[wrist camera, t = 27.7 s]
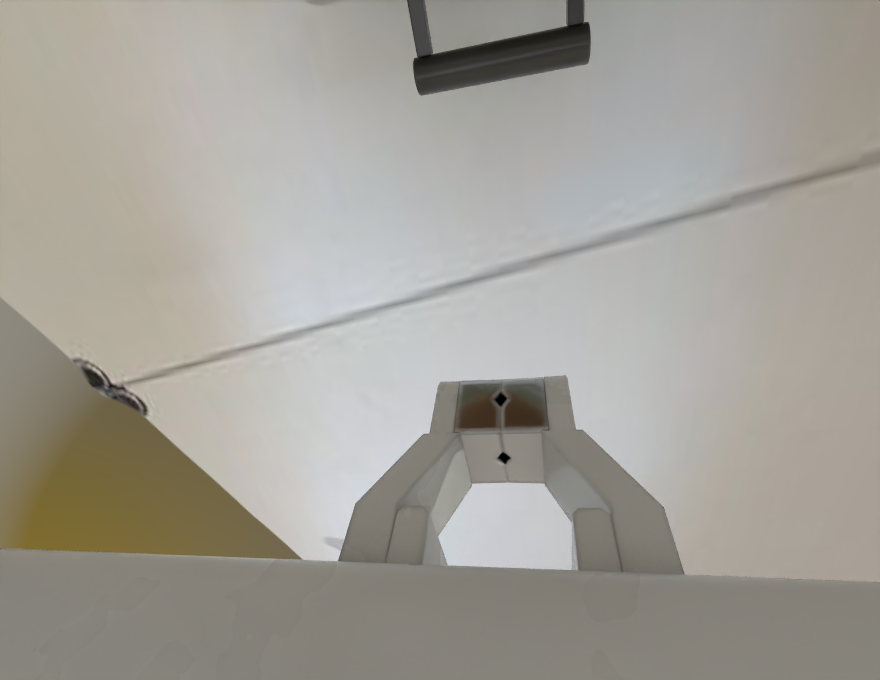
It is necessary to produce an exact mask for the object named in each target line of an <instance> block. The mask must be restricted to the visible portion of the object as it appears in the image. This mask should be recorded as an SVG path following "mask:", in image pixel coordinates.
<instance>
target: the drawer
mask: <svg viewBox="0 0 880 680" xmlns="http://www.w3.org/2000/svg"><path fill="white" fill-rule="evenodd" d="M407 2H408V8H409V13H410V19H411V24H412V30H413V35H414V41H415V46H416V52H417V56H418V57H417V58H414V61H413V70H414V78H415V83H416V87H417V90H418V93H419V94H420V95H421V96H422V95H427V94H433V93H438V92H443V91H448V90H454V89H459V88H464V87H469V86H475V85H480V84H485V83H490V82H496V81H501V80H506V79H511V78H517V77H522V76H527V75H532V74H538V73H543V72H548V71H553V70H559V69H564V68H569V67H574V66H580V65H585V64H588V62H589V58H590V46H591V35H590V25H589V22H584V0H566V24H567V25H568V26H565V27H560V28H555V29H551V30H546V31H541V32H536V33H532V34H527V35H522V36H517V37H512V38H508V39H503V40H498V41H493V42H489V43H484V44H479V45H474V46H470V47H465V48H460V49H455V50H451V51H446V52H441V53H436V54H432V53H433V49H432V43H431V37H430V31H429V25H428V18H427V12H426V6H425V0H407ZM431 54H432V55H431Z"/></svg>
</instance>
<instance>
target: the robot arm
mask: <svg viewBox="0 0 880 680" xmlns="http://www.w3.org/2000/svg"><path fill="white" fill-rule="evenodd" d="M506 482H509V483H545V486H546V487H547V489H548V490H549V491H550V493H551V494H552V496H553V497H554V498H555V500H556V501H557V503H558V504H559V505H560V507H561V508H562V510H563V511H564V513H565V514H566V515H567V517H568V518H569V520H570V521H571V522H572V570H554V569H528V568H501V567H475V566H448V564H447V562H446V559H445V556H444V553H443V550H442V547H441V544H440V542H439V539H438V536H439V534H440V533H441V531H442V530H443V528H444V527H445V525H446V524H447V522H448V521H449V519H450V518H451V516H452V515H453V513H454V512H455V510H456V509H457V507H458V506H459V504H460V503H461V501H462V500H463V498H464V497H465V495H466V494H467V492H468V491H469V489H470V488H471V486H472V484H471V483H506ZM0 680H880V582H868V581H842V580H816V579H789V578H763V577H737V576H710V575H685V574H684V571H683V568H682V564H681V561H680V558H679V555H678V552H677V548H676V545H675V542H674V539H673V535H672V532H671V529H670V526H669V523H668V519H667V516H666V513H665V510H664V507H663V506H662V505H661V504H660V503H659V502H658V501H657V500H656V499H655V498H654V497H652V496H651V495H650V494H649V493H648V492H647V491H646V490H645V489H644V488H643V487H642V486H641V485H640V484H639V483H638V482H637V481H636V480H635V479H634V478H633V477H632V476H631V475H629V474H628V473H627V472H626V471H625V470H624V469H623V468H622V467H621V466H620V465H619V464H618V463H617V462H616V461H615V460H614V459H613V458H612V457H611V456H610V455H609V454H608V453H606V452H605V451H604V450H603V449H602V448H601V447H600V446H599V445H598V444H597V443H596V442H595V441H594V440H593V439H592V438H591V437H590V436H589V435H588V434H587V433H586V432H584V431H583V430H576V428H575V422H574V416H573V410H572V404H571V397H570V391H569V385H568V379H567V377H566V376H551V377H544V379H543V377H538V378H521V379H504V380H476V381H461V382H440V384H439V385H438V388H437V394H436V400H435V405H434V411H433V417H432V422H431V428H430V434H423V435H422V436H421V437H420V438H419V439H418V440H417V441H416V442H415V443H414V444H413V445H412V446H411V447H410V448H409V449H408V450H407V451H406V452H405V453H404V454H403V455H402V456H401V458H400V459H399V460H398V461H397V462H396V463H395V464H394V465H393V466H392V467H391V468H390V469H389V470H388V471H387V472H386V473H385V474H384V475H383V476H382V477H381V478H380V479H379V480H378V481H377V482H376V483H375V484H374V485H373V486H372V487H371V488H370V489H369V490H368V491H367V492H366V493H365V494H364V495H363V496H362V497H361V499H360V500H359V501H358V502H357V503H356V504H355V507H354V510H353V514H352V517H351V520H350V523H349V527H348V530H347V533H346V537H345V540H344V543H343V547H342V550H341V553H340V556H339V560H338V561H316V560H289V559H288V560H287V559H263V558H237V557H235V558H234V557H211V556H185V555H160V554H135V553H109V552H84V551H59V550H57V551H56V550H33V549H11V548H0Z"/></svg>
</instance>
